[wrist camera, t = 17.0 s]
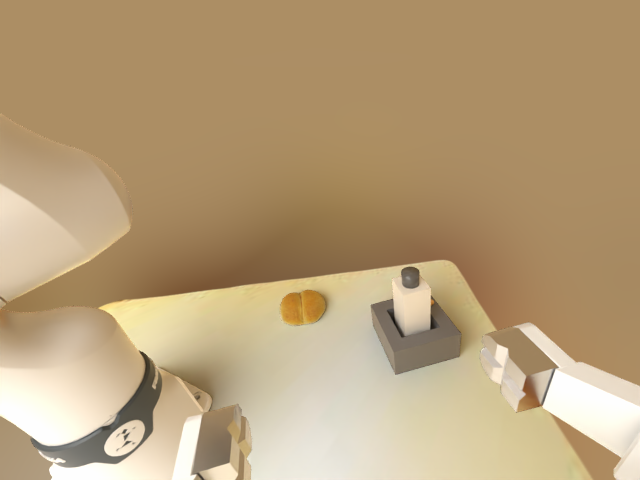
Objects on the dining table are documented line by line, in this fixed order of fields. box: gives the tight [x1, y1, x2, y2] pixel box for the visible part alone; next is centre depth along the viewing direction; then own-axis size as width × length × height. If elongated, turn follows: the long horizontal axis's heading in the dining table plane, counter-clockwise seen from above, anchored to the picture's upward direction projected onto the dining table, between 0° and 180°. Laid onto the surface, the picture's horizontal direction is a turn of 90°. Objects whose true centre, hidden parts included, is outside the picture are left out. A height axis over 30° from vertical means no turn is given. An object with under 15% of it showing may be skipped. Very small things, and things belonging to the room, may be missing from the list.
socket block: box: [371, 296, 461, 375], centre depth 47 cm, size 10×10×5 cm
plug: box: [392, 267, 431, 338], centre depth 45 cm, size 4×4×13 cm
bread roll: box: [280, 290, 326, 326], centre depth 58 cm, size 8×9×4 cm
